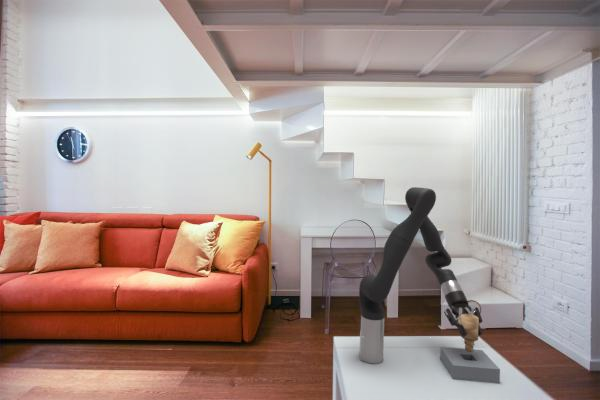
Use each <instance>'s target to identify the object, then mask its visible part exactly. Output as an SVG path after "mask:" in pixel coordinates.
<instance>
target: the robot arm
mask: <svg viewBox="0 0 600 400" xmlns="http://www.w3.org/2000/svg"><path fill="white" fill-rule="evenodd" d="M404 195H405V196H404V198H405V199H404V201H405V203H406V206H407V208H408V210H409V211H410V214H409V215H408V217H406V218H405V219H404V220H402V222H400V223H399V224H397V226H396V227H394V228H393V229H392V230H391V232H390V233H389V235H388V238H387V239H386V242H385V243H384V247H383V257H382V263H381V267H380V268H379V270H378V272H377V274H376V275H374V274H368V275H365V276H364V277H362V279H361V281H360V282H359V293H358V295H359V299H358V300H359V308H360V312H361V313H360V331H359V359H360V361H361V362H365V363H368V364H372V365H373V364H381V363H383V361H384V345H385V344H384V342H385V341H384V340H385V309H384V307H383V305H382V302H384V301H385V300H386V299H387V297H388V296H389V294H390V291H391V289H392V286H393V284H394V281H395V278H396V276H397V273H398V271H399V270H400V268H401V266H402V264H403V261H404V260H405V258H406V255H407V254H408V252H409V251H410V248H411V246H412V244H413V242H414V240H415V237H416V236H417V234H418V232H420V234H421V237H422V241H423V243H424V247H425V248H426V249H425V250H426V251H428V252H430V253H429V254H427V255H426V256H425V264H426V266H427V267H428V268H429V269H430V270H431V271H432V273H433V274H434V276H435V277H436V278H437V279H436V280H437V281H438V283H439V286H440V288H441V292H442V293H443V296H444V299H445V300H446V304H447V306H448V307H449V308H446V309H444V311H443V312H444V315H445V317H446V318H447V320H448V322H449V323H450V325H451V326H453V327H454V326H455V327H456V328H457V329H458V332H459V334H460V336H461V335H462V336H463V337H465V336H466V335H467V333H466V331H465V329H464V327H463V325H461V324H462V321H461V315H462V314H472V315H473V314H474V315H475V316H477V317H478V318H479V322H478V337H480V336H482V335H483V332H484V331H483V330H482V328H481V325H480V324H481V323H482V322H483V319H482V315H481V313H480V312H479V309H478V308H477V307H476V308H471V307H470V306H469V305H468V301H469V300H468V299H467V296H466V295H465V293H464V290H463V288H462V286H461V284H460V283H459V282H458V279H457V277H456V275H455V274H454V272H453V270H451V269H449V268H445V267H448V266H451V264H452V257H451V255H450V253H449V252H448V251H447V249H446V248H445V247H444V245H443V242H442V239H441V235H440V233H439V230H438V229H437V227H436V226H435V224H434V223H433V222H432V221H431V219H430V218H429V214H430V213H431V211H432V209H433V208H434V206H435V203H436V200H437V194H436V192H435V191H434V189H432V188H425V187H414V186H413V187H410V188H409V189H408V190H406V193H405V194H404ZM432 252H433V253H432ZM443 268H444V269H443ZM471 311H472V313H471Z"/></svg>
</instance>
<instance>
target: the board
mask: <svg viewBox="0 0 600 400" xmlns="http://www.w3.org/2000/svg"><path fill="white" fill-rule="evenodd" d="M439 353H440V355H439V357H440V358H439V359H440V361H441V362H442V365H443V366H444V367H445V369H446V370H447V372H448V374H449V376H450V377H451V379H453V380H461V381H471V382H472V381H473V382H483V383H484V382H485V383H495V384H500V381H501V380H500V379H501V369H500V368H499V367H498V366H497V364H496V363H495V362H494V361H493V360H492V359H491V358H490V356H488V354H486V353H485V351H484V350H482V349H474V348H473V352H468V351H466V350H465V348H460V347H459V348H458V347H447V346H440V352H439Z"/></svg>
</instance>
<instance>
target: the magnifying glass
mask: <svg viewBox="0 0 600 400" xmlns="http://www.w3.org/2000/svg"><path fill="white" fill-rule="evenodd" d="M467 301H468V305H469V306H470V307H471V308H476V307H477V308H478V309H479V312H480V314H481V313H482V307H481V305H480V303H479V302H478V301H477V300H473V299H470V300H469V299H468V300H467ZM471 313H472V311H471ZM473 315H474V314H473Z"/></svg>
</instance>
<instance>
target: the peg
mask: <svg viewBox="0 0 600 400" xmlns="http://www.w3.org/2000/svg"><path fill="white" fill-rule="evenodd" d="M461 321H462V324H461V325H463V327H464V329H465V331H466V333H467V335H466V336H465V337H463V336H462V335H461V334H460V337H461V338H462V339H463V340H464V341H463V343H464V349H465V350H466V351H468V352H473V349H474V346H475V342H477V341H478V340H479V336H478V322H479V318H478V317H477V316H475V315H472V314H462V315H461Z"/></svg>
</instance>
